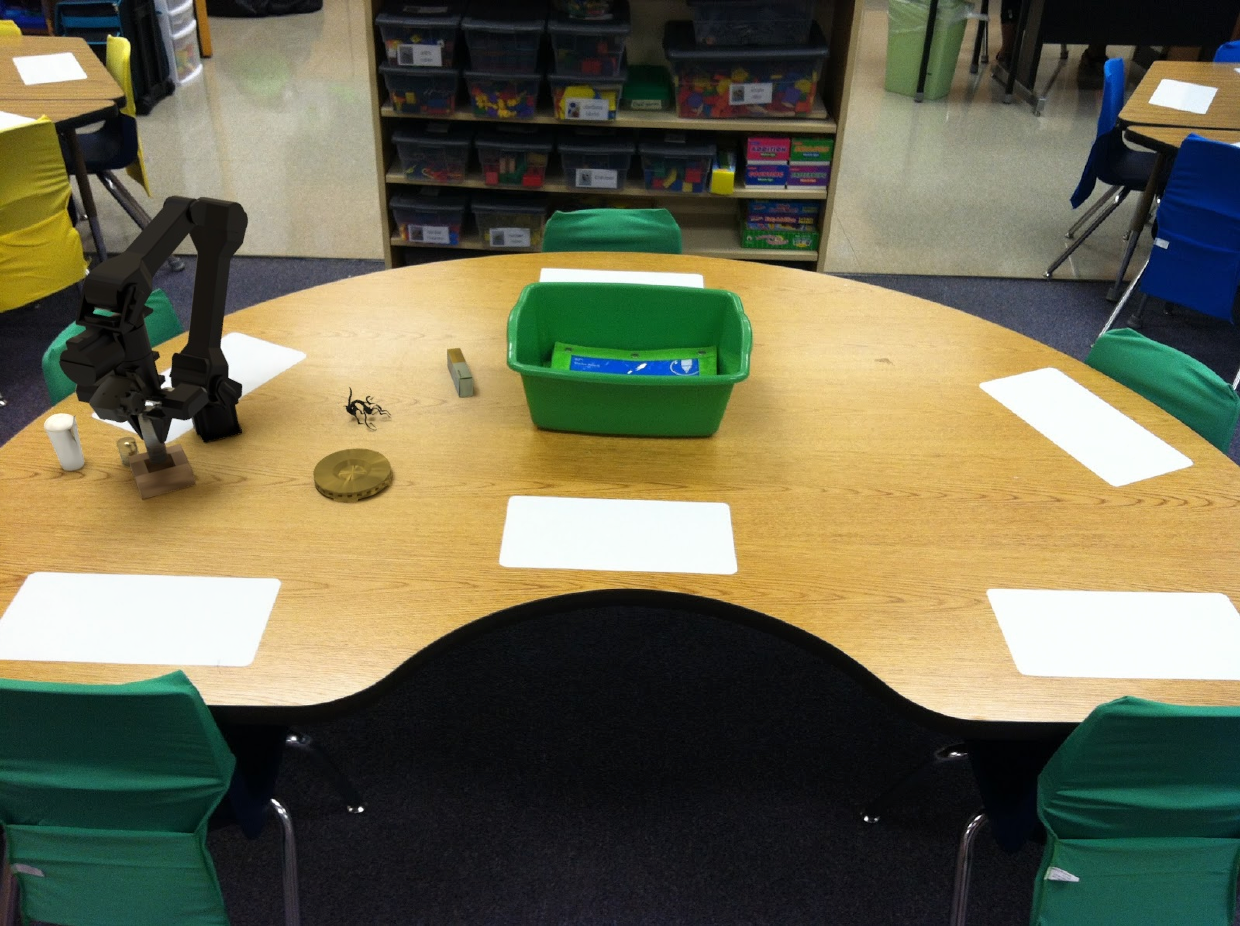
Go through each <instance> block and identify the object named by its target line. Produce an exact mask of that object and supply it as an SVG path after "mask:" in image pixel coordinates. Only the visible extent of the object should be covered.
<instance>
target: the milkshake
mask: <svg viewBox="0 0 1240 926" xmlns="http://www.w3.org/2000/svg"><path fill="white" fill-rule="evenodd" d="M77 422H78V421H77V419H76V414H74V415H72V414H68V413H55V414H52V415H51V416H49V417H48V418H46V420H45V422H44V423H43V428H44V431H45V433H46V434H47V436H48V439H49V440H50V443H51V445H52V447H53V449H54V452H55V454H56V456H57V459H58V461H59V464H60V466H61V468H63V470H64V471H69V472H73V471H78V470H79V469H81V468H82V467H84V465H85V458H84V453H83V449H82V444H81V440H80V439H81V438H80V434H79V430H78V424H77Z"/></svg>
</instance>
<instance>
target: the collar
mask: <svg viewBox="0 0 1240 926" xmlns="http://www.w3.org/2000/svg"><path fill="white" fill-rule="evenodd" d="M166 449H167V453H168V460H167V461H165V462H163V463H160V464H153V463H151V462H150V461H149V458H148V454H147V451H146V452H142V453H139V454H137V455H133V456H129V457H128V460H129V463H130V467H129V468H130V470H131V473H132V476H133V479H134V482H135V483H136V486H137V489H138V491H139V495H140V496H141V497H140V498H141V499H142V500H145V499H149V498H153V497H156V496H160V495H163V494H167V493H171V492H174V491H178V490H182V489H186V488H190V487H192V486H196V485H197V483H196V479H195V475H194V470H193V467H192V465H191V463H190V461H189V458H188V457H187V455H186V453H185V450H184V448H183V446H182V443H177V444H174V445H169V446H166Z"/></svg>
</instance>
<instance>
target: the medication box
mask: <svg viewBox="0 0 1240 926" xmlns="http://www.w3.org/2000/svg"><path fill="white" fill-rule="evenodd" d="M446 359H447V361H446V363H447V364H446V366H447V369H448V373H449V374H450V378H451V380H452V382H453V385H454V388H455V390H456V393H457V396H458V398H459V399H461V398H470V397H473V396H474V378H473V374H472V372H471V370H470V368H469V366H468V364H467V361H466V358H465V356H464V353H463V352H462V349H461V347H458V348H457V347H454V348H453V347H452V348H447V350H446Z"/></svg>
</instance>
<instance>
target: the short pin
mask: <svg viewBox="0 0 1240 926" xmlns="http://www.w3.org/2000/svg"><path fill="white" fill-rule="evenodd" d="M116 446H117V450H118V453H119V458H120V461H121V464H122V466H123V467H125V468H126V467H127V468H131V467H130V463H129V460H128V457H129V456H133V455H137V454H140V452H139V448H138V447H139V446H138V444H137V441H136V438H135V437H133V436H123V437H120V438H119V439H118V440H116Z"/></svg>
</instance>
